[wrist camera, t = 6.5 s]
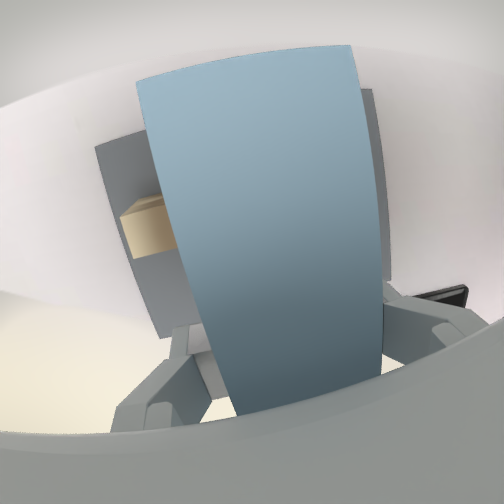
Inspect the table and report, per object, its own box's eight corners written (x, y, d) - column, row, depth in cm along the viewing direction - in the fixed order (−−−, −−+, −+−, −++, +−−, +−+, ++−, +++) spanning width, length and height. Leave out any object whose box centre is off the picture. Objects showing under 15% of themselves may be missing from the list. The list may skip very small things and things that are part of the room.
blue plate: (257, 104, 15) (349, 45, 4) (302, 341, 20) (367, 490, 9) (186, 119, 14) (135, 81, 4) (247, 354, 19) (281, 515, 9)
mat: (369, 89, 29) (371, 88, 28) (389, 278, 37) (391, 280, 36) (95, 146, 27) (94, 146, 27) (160, 336, 36) (159, 338, 35)
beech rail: (320, 156, 30) (348, 163, 24) (325, 190, 31) (354, 206, 25) (138, 199, 30) (119, 217, 23) (148, 232, 31) (133, 259, 24)
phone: (385, 305, 37) (470, 285, 38) (381, 301, 38) (465, 282, 39) (378, 354, 40) (459, 330, 41) (374, 350, 41) (455, 327, 42)
